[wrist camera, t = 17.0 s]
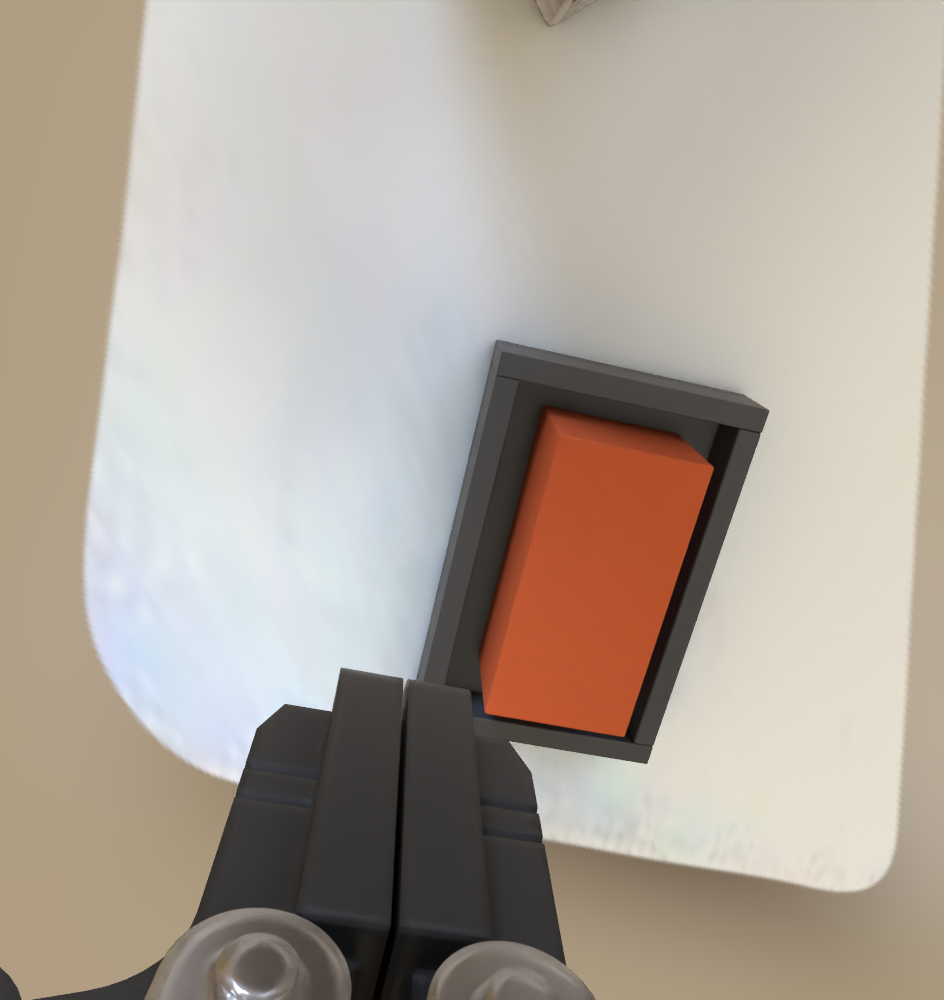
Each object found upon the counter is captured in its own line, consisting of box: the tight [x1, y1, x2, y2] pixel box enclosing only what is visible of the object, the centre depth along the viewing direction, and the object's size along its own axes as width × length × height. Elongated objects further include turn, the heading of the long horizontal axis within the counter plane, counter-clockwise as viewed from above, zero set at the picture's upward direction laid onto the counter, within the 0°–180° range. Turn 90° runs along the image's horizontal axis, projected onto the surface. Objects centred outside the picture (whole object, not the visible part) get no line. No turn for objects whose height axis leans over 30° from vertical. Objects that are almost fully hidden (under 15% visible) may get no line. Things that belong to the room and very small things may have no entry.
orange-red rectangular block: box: [478, 406, 714, 737], centre depth 30 cm, size 10×5×4 cm, turn 167°
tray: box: [417, 340, 769, 764], centre depth 31 cm, size 14×9×2 cm, turn 167°
